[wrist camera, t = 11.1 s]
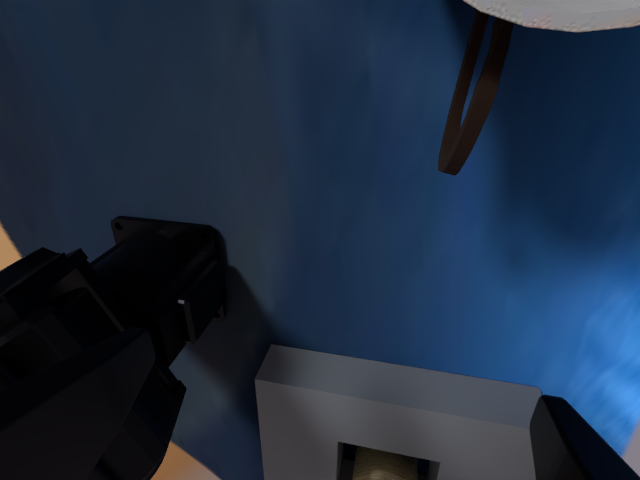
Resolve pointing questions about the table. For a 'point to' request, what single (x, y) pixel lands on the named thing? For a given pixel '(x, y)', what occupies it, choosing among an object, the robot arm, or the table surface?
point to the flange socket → (388, 418)
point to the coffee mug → (508, 7)
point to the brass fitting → (383, 465)
